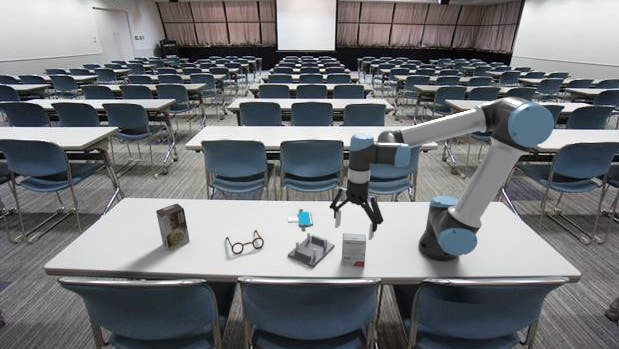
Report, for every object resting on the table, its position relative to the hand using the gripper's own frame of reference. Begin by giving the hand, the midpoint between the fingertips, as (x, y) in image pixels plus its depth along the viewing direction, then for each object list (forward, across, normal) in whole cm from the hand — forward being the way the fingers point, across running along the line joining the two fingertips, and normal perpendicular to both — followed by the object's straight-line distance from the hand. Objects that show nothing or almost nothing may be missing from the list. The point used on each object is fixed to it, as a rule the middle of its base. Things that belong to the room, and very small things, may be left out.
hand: (353, 232), depth 120 cm
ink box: (+14, 0, 0) cm, 14 cm away
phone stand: (+15, +34, -15) cm, 40 cm away
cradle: (+14, +16, +3) cm, 22 cm away
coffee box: (+15, +66, +30) cm, 74 cm away
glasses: (+15, +43, +13) cm, 48 cm away
